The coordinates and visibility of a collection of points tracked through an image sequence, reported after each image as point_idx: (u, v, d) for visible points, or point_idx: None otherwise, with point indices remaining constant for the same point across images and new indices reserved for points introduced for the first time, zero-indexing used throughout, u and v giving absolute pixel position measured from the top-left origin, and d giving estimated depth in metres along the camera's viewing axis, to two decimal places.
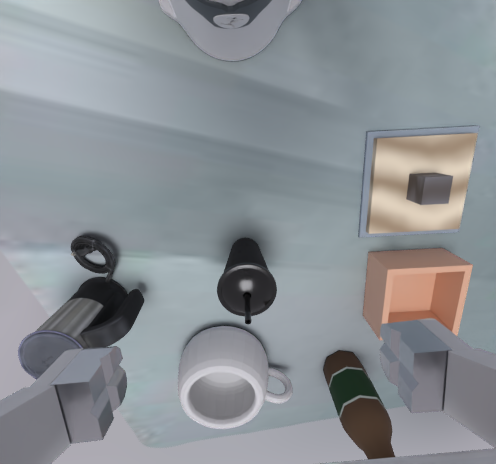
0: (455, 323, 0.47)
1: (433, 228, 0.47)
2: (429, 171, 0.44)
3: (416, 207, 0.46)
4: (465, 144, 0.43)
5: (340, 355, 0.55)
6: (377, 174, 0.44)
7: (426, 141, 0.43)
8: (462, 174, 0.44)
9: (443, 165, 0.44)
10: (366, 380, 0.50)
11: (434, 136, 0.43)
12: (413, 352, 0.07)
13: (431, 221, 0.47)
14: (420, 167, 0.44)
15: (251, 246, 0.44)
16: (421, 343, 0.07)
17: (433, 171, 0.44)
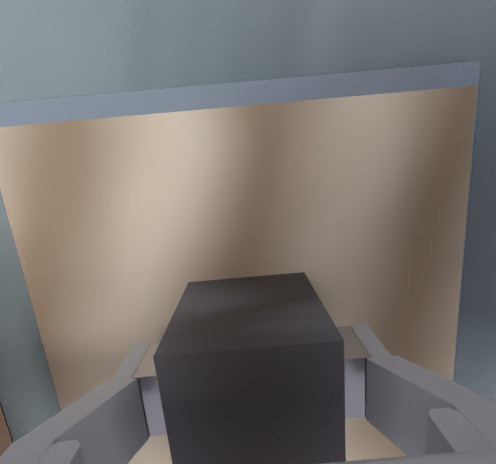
0: None
1: None
2: None
3: (155, 334, 0.10)
4: None
5: None
6: (302, 119, 0.09)
7: (435, 311, 0.10)
8: None
9: None
10: None
11: (451, 337, 0.11)
12: None
13: None
14: (331, 312, 0.10)
15: None
16: None
17: None
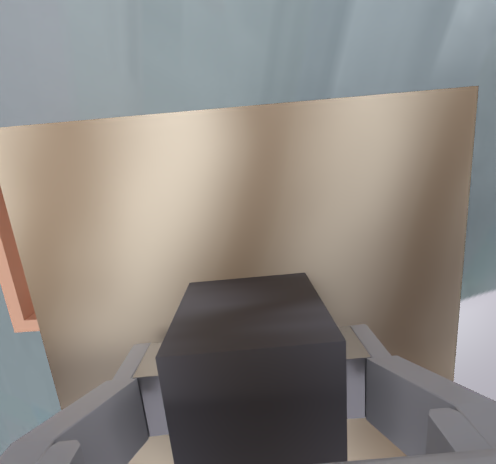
0: None
1: None
2: None
3: (156, 334, 0.10)
4: None
5: None
6: (304, 119, 0.09)
7: (436, 312, 0.10)
8: None
9: None
10: None
11: (452, 337, 0.11)
12: None
13: None
14: (332, 312, 0.10)
15: None
16: None
17: None
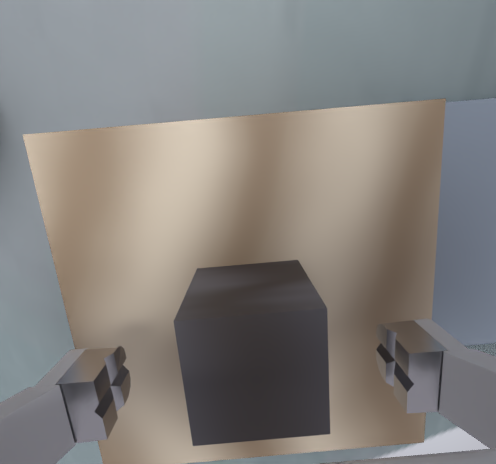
0: None
1: None
2: None
3: (167, 314, 0.12)
4: (391, 416, 0.13)
5: None
6: (296, 126, 0.10)
7: (413, 295, 0.12)
8: None
9: None
10: None
11: (428, 317, 0.12)
12: (408, 353, 0.07)
13: None
14: (322, 295, 0.12)
15: None
16: (416, 343, 0.07)
17: None
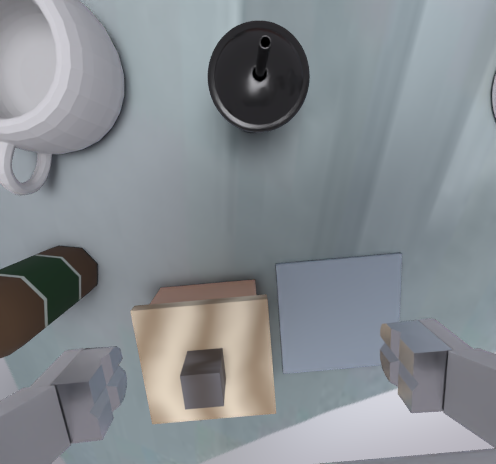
0: None
1: (149, 393, 0.34)
2: (227, 371, 0.33)
3: (176, 366, 0.33)
4: (262, 403, 0.34)
5: (93, 266, 0.37)
6: (219, 307, 0.31)
7: (264, 359, 0.33)
8: (225, 409, 0.34)
9: (235, 385, 0.34)
10: (67, 307, 0.32)
11: (271, 367, 0.33)
12: (413, 352, 0.07)
13: (158, 388, 0.33)
14: (232, 359, 0.33)
15: None
16: (421, 343, 0.07)
17: (227, 375, 0.33)
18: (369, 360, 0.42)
